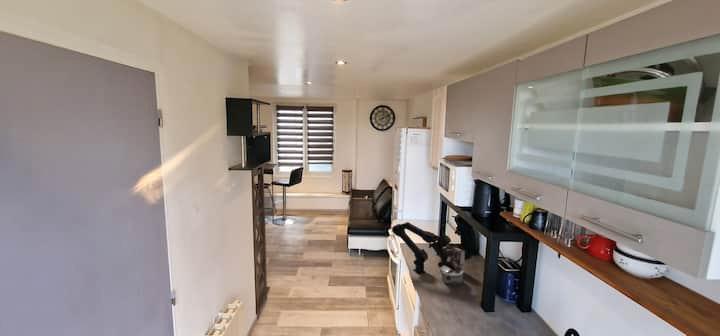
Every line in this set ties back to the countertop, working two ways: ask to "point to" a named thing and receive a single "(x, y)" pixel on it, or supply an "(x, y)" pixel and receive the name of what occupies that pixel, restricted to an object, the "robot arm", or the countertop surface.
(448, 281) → the cooker pot
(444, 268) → the cooker lid
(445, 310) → the countertop surface
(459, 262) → the coffee box
